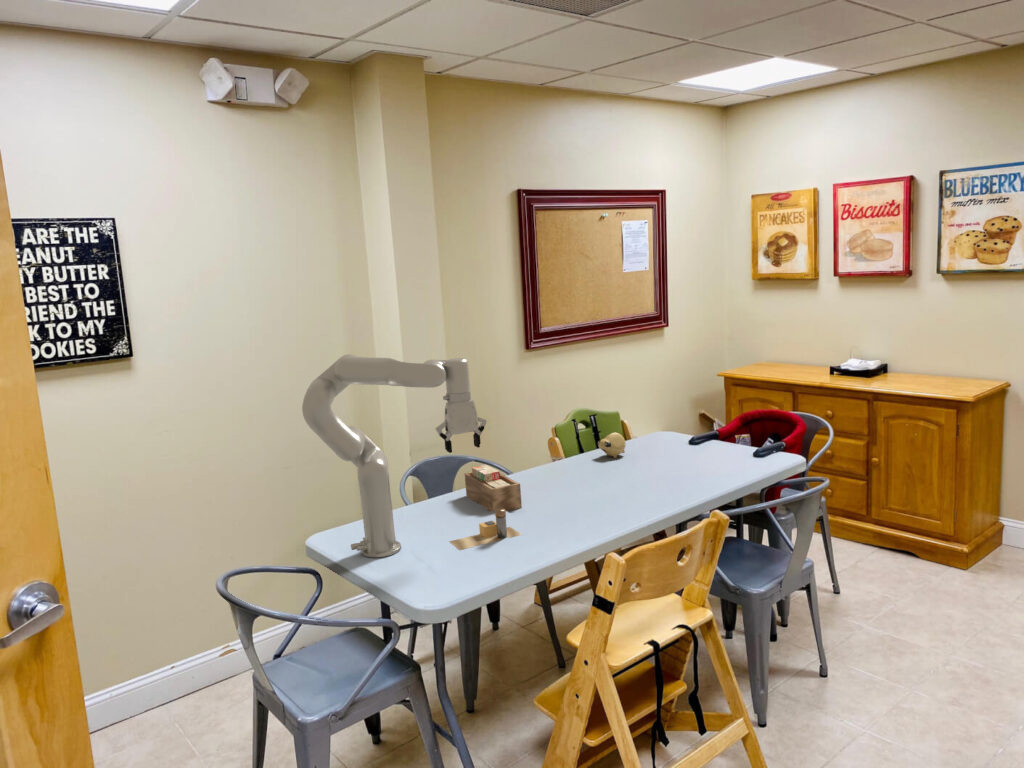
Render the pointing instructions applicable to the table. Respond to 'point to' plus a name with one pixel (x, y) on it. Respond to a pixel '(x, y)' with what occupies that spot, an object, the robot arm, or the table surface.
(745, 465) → the table surface
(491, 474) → the stack of blocks
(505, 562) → the table surface
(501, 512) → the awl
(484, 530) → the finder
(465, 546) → the board
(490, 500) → the block caddy
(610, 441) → the toy pig
